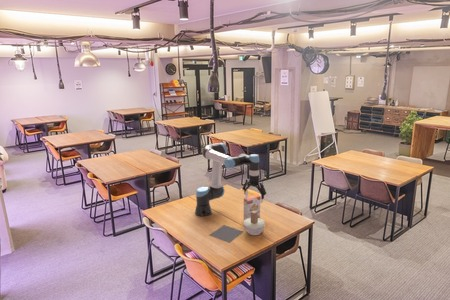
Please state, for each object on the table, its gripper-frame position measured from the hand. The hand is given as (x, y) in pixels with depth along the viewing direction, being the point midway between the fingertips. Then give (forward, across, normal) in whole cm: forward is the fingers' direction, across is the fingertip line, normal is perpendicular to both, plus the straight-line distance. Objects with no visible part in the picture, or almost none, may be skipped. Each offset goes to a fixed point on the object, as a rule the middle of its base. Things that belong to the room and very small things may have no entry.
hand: (254, 200), depth 240 cm
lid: (+20, 0, 0) cm, 20 cm away
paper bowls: (+28, 0, 0) cm, 28 cm away
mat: (+28, -17, -14) cm, 35 cm away
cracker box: (+28, -13, +18) cm, 35 cm away
